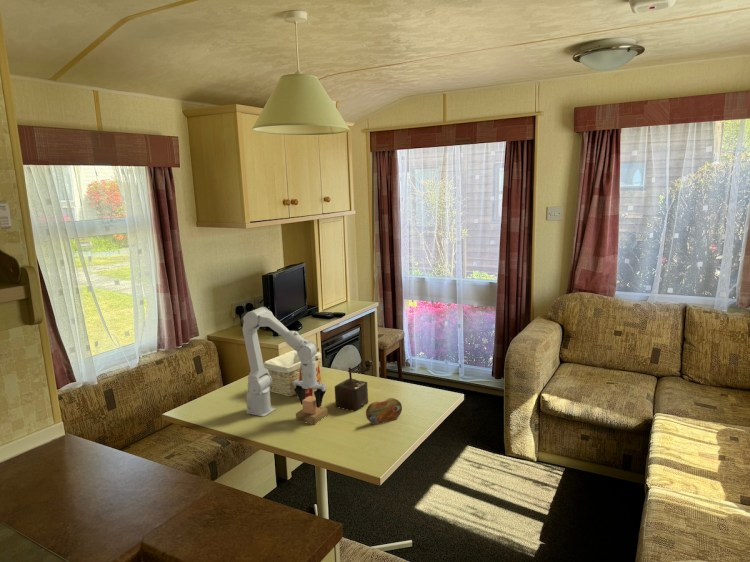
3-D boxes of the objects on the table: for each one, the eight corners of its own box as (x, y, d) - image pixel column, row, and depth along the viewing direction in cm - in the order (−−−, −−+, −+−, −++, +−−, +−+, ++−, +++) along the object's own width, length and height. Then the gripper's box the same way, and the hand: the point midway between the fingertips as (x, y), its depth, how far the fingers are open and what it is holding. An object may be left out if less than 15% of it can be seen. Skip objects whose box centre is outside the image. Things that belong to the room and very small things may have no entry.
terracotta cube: (303, 412, 206) (302, 400, 206) (310, 407, 211) (309, 395, 210) (313, 414, 204) (312, 402, 203) (320, 409, 208) (319, 397, 208)
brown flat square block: (296, 420, 206) (295, 413, 205) (309, 411, 214) (308, 405, 213) (314, 424, 202) (314, 417, 201) (327, 415, 210) (327, 408, 209)
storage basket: (289, 398, 229) (287, 367, 226) (264, 392, 238) (261, 361, 235) (324, 381, 248) (322, 352, 246) (299, 376, 257) (297, 347, 255)
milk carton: (297, 398, 229) (294, 354, 226) (307, 390, 238) (304, 348, 234) (315, 400, 226) (312, 356, 222) (325, 392, 234) (322, 350, 231)
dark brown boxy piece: (356, 412, 212) (354, 370, 209) (334, 407, 217) (332, 366, 214) (376, 398, 224) (374, 359, 221) (355, 394, 230) (353, 355, 227)
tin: (368, 426, 198) (367, 406, 196) (365, 423, 201) (364, 403, 199) (402, 417, 205) (402, 397, 203) (398, 414, 207) (398, 395, 206)
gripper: (288, 373, 204) (290, 406, 207) (318, 378, 198) (320, 412, 200) (298, 368, 211) (300, 399, 213) (328, 372, 204) (330, 405, 206)
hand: (311, 405), depth 207 cm, fingers open, 7 cm apart
